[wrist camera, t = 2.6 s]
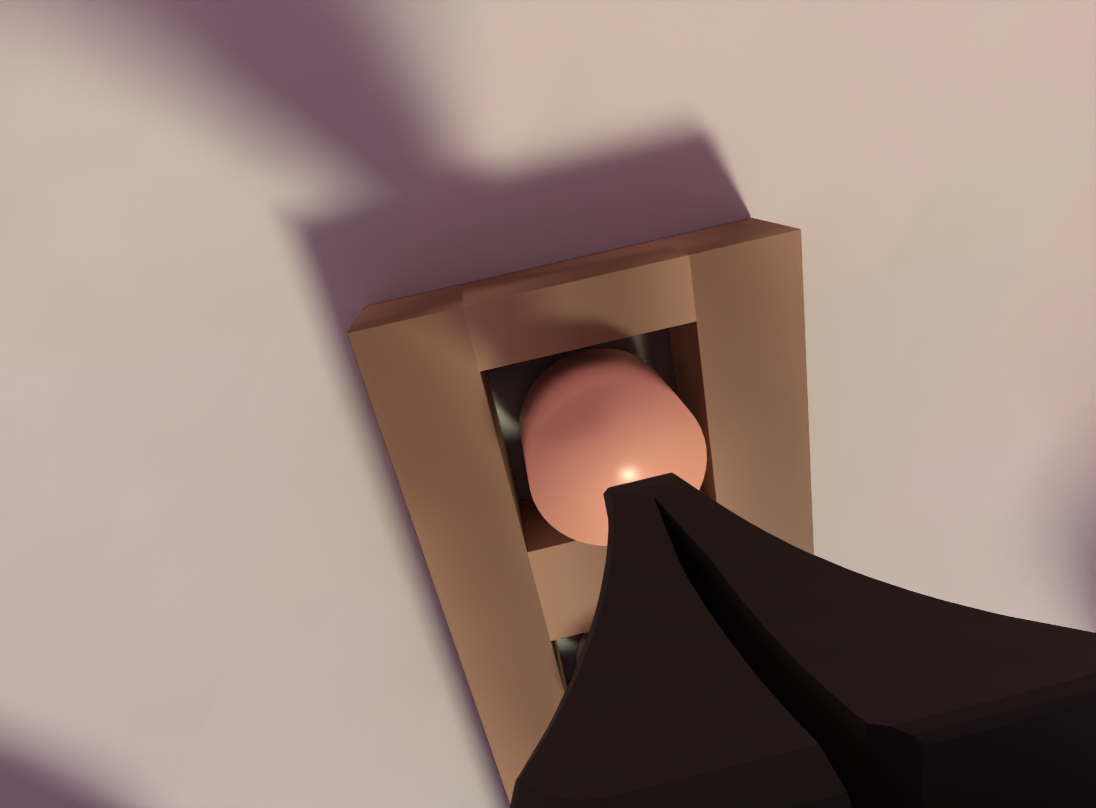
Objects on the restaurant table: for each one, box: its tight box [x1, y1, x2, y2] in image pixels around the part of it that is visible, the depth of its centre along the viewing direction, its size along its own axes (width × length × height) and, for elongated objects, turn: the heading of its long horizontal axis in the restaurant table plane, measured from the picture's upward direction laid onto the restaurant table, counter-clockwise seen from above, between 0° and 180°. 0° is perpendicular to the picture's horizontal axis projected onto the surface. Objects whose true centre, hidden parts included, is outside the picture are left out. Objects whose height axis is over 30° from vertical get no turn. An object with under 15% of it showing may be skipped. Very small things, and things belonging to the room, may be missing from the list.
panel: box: [347, 218, 814, 804], centre depth 19 cm, size 10×24×2 cm, turn 12°
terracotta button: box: [520, 348, 707, 546], centre depth 15 cm, size 4×4×3 cm
